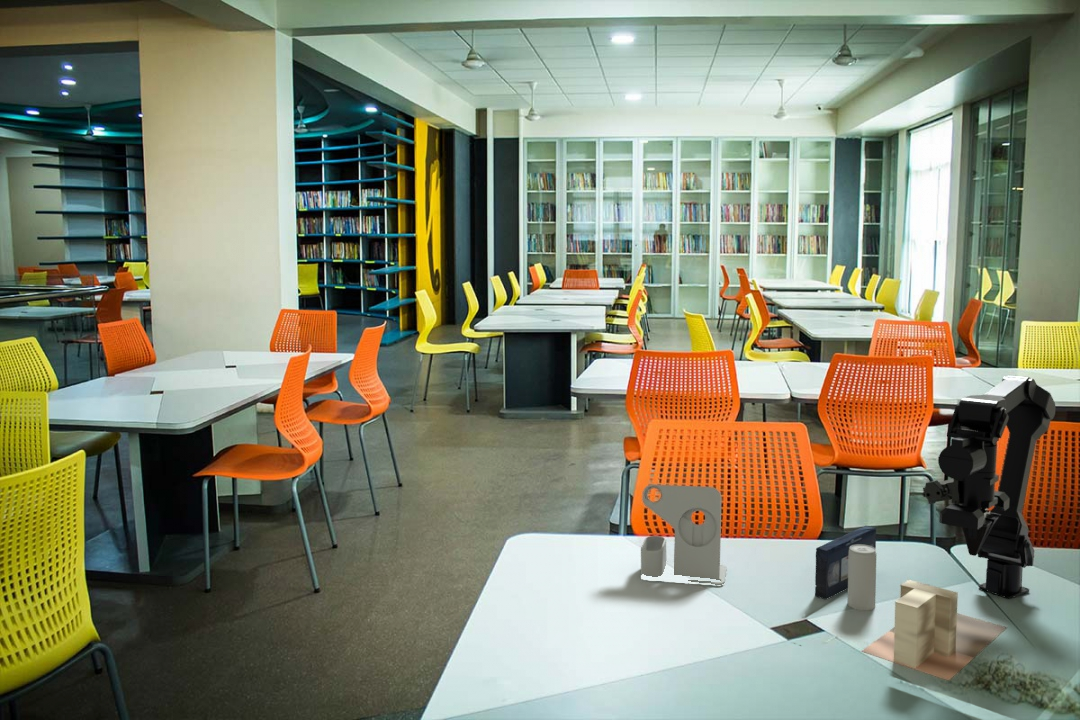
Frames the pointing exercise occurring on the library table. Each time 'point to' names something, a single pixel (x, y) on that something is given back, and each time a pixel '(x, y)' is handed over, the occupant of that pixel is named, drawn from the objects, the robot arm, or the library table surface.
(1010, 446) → the robot arm
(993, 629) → the board
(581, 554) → the library table surface
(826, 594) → the vhs cassette tape
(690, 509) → the phone holder
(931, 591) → the T block
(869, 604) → the beverage can
